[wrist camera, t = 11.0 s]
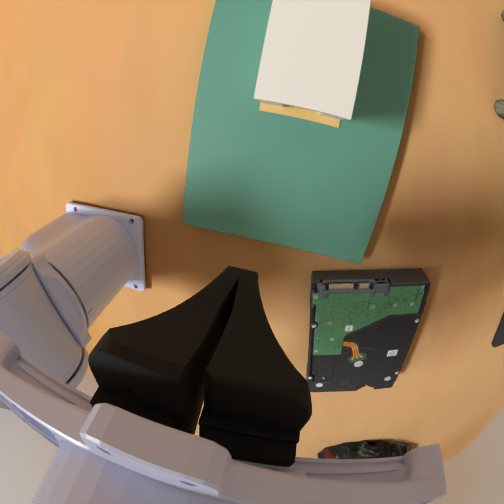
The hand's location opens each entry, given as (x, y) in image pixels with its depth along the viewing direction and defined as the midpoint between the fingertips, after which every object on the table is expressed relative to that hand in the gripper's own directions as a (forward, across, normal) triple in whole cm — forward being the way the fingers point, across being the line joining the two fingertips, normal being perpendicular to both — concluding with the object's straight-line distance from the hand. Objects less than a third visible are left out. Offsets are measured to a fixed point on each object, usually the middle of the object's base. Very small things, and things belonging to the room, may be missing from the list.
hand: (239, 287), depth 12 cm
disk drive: (+10, -11, +10) cm, 18 cm away
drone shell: (+10, -30, +44) cm, 55 cm away
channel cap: (+8, -1, -12) cm, 15 cm away
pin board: (+9, -1, -8) cm, 12 cm away
